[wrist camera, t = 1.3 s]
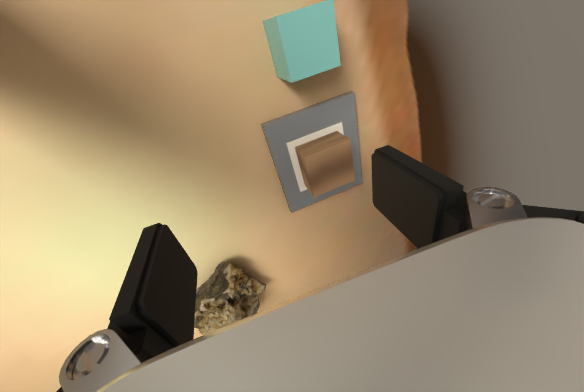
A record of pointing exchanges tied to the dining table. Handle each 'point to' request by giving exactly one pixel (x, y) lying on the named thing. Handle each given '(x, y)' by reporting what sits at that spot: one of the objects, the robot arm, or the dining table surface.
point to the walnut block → (326, 163)
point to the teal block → (304, 41)
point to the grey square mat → (306, 128)
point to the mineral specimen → (226, 298)
